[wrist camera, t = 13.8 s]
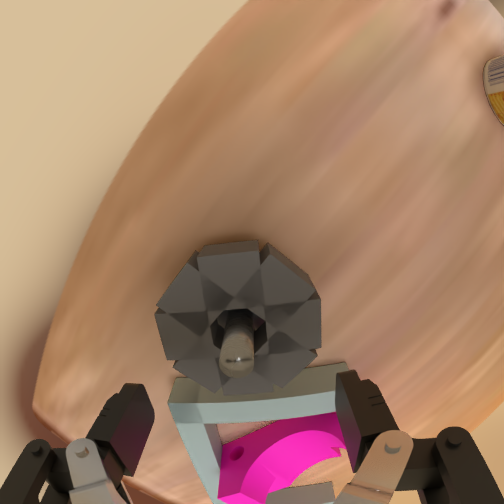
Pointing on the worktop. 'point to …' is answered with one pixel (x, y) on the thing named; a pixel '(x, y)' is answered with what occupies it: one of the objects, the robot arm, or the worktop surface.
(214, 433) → the grey u-shaped bracket
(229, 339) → the axle hub
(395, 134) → the worktop surface
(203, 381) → the wheel
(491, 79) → the canned food
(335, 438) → the toy block
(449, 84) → the worktop surface
